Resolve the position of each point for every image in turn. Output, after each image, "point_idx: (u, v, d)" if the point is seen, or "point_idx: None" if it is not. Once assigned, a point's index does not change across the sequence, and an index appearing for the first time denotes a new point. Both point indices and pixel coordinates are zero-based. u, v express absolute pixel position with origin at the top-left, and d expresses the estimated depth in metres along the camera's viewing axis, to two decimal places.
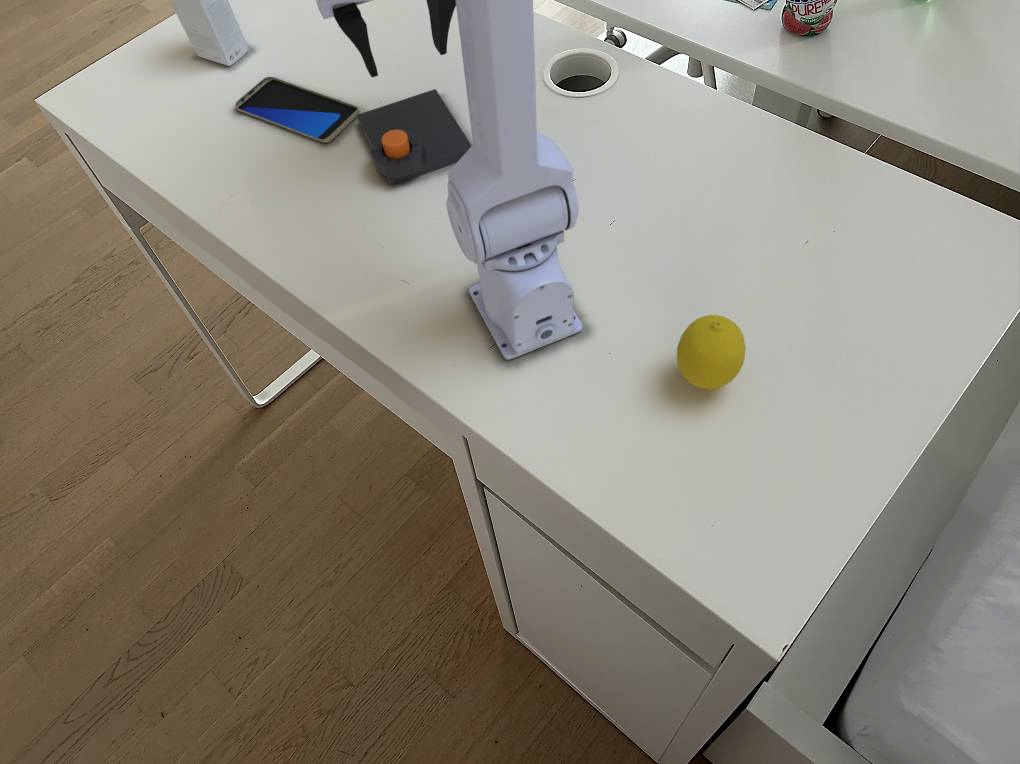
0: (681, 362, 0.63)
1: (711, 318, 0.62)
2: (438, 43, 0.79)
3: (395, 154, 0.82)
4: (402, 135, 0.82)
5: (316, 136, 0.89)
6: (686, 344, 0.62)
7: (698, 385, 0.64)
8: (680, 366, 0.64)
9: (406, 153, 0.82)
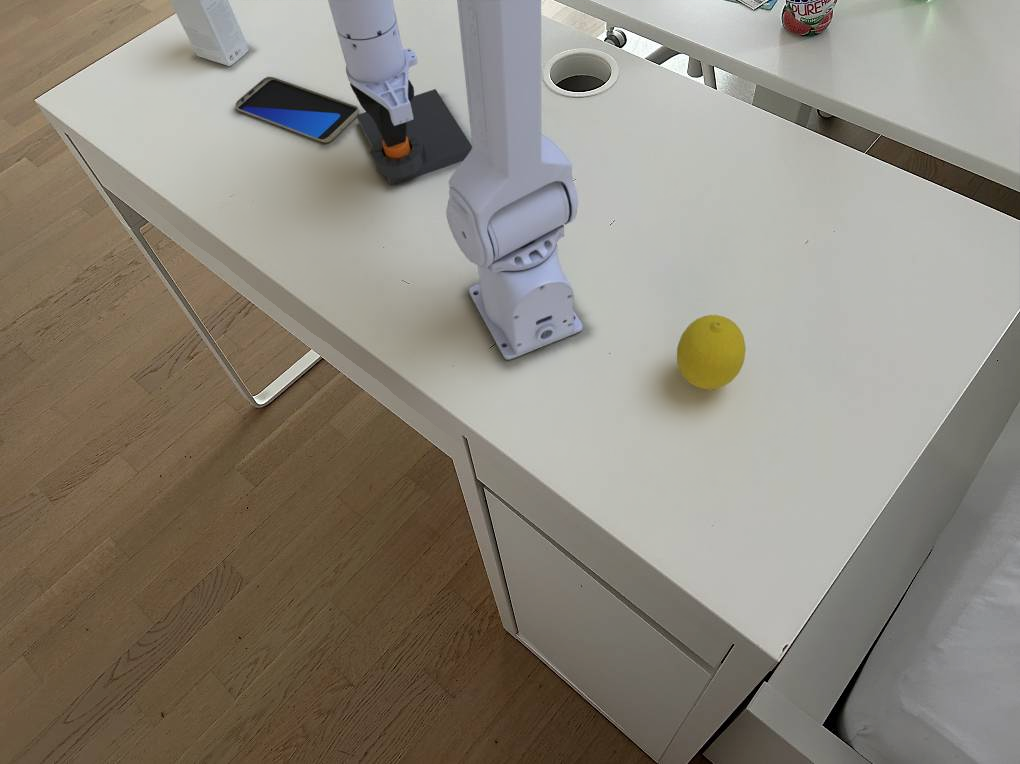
0: (681, 362, 0.63)
1: (711, 318, 0.62)
2: None
3: (396, 157, 0.82)
4: None
5: (316, 136, 0.89)
6: (686, 344, 0.62)
7: (698, 385, 0.64)
8: (680, 366, 0.64)
9: None
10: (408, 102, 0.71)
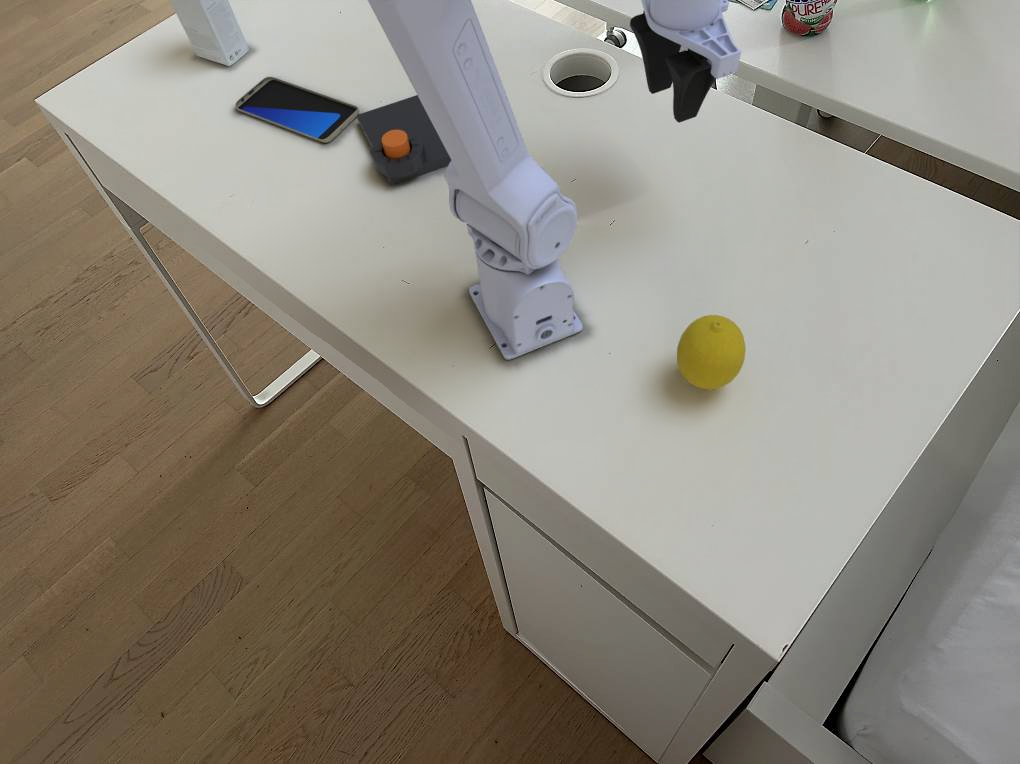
0: (681, 362, 0.63)
1: (711, 318, 0.62)
2: None
3: (395, 154, 0.82)
4: (402, 135, 0.82)
5: (316, 136, 0.89)
6: (686, 344, 0.62)
7: (698, 385, 0.64)
8: (680, 366, 0.64)
9: (406, 153, 0.82)
10: (739, 51, 0.61)
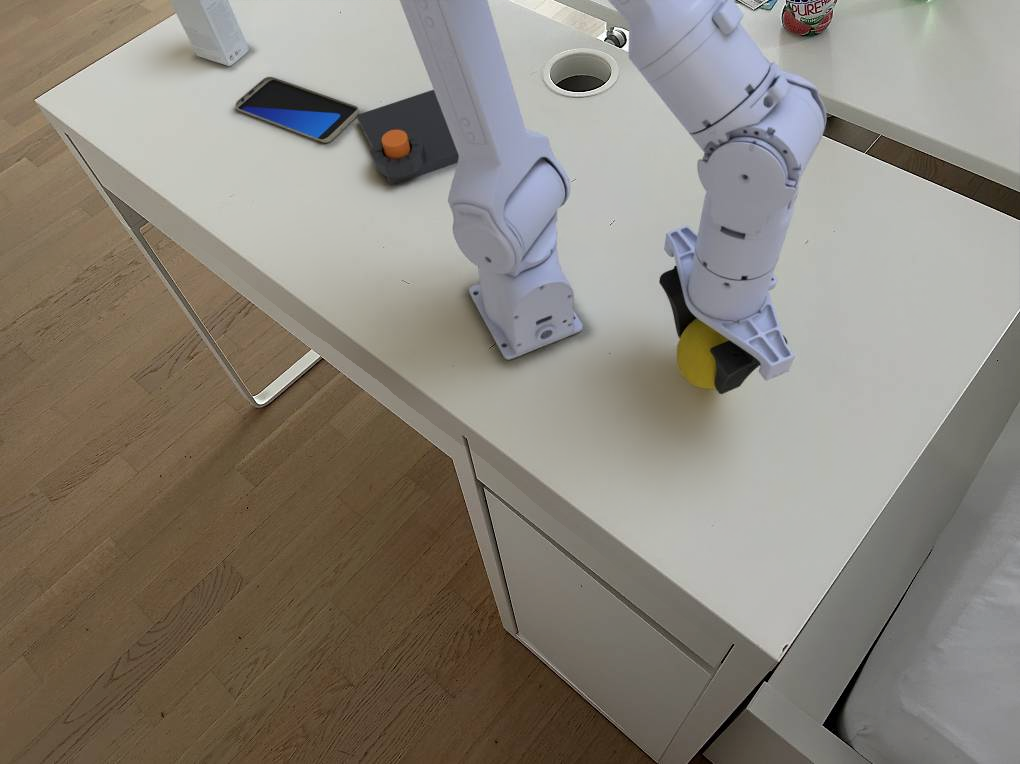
0: (681, 361, 0.63)
1: None
2: None
3: (395, 154, 0.82)
4: (402, 135, 0.82)
5: (316, 136, 0.89)
6: (686, 343, 0.62)
7: (698, 384, 0.64)
8: (680, 365, 0.64)
9: (406, 153, 0.82)
10: (792, 355, 0.53)
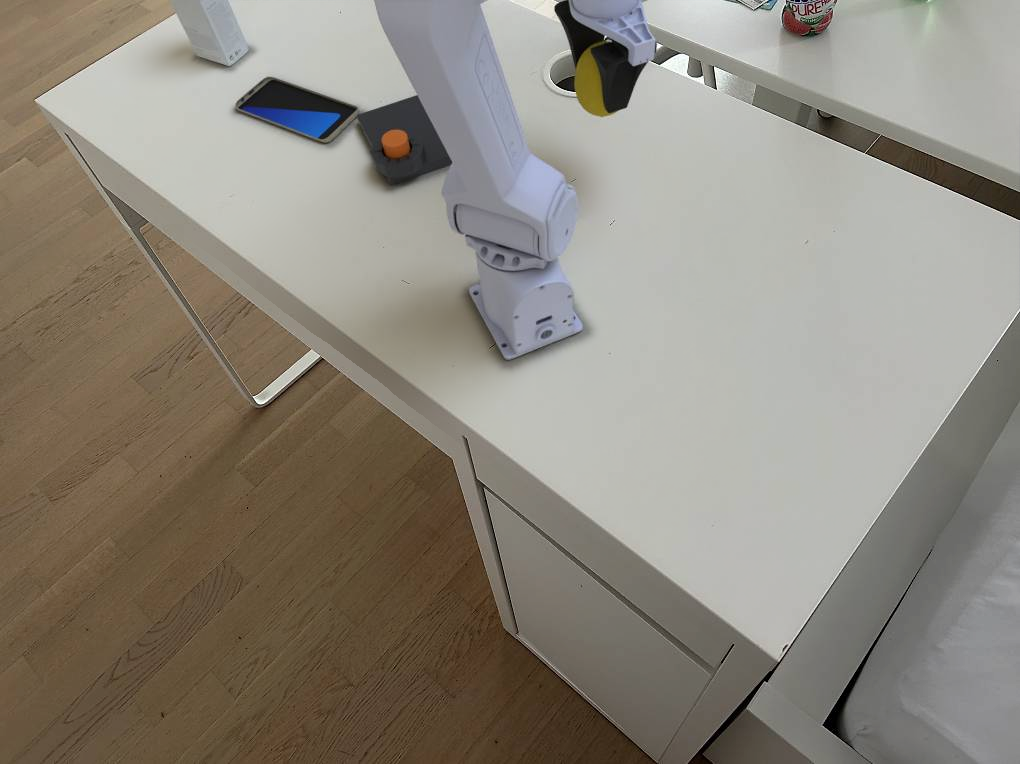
0: (577, 86, 0.72)
1: (600, 42, 0.71)
2: None
3: (395, 154, 0.82)
4: (402, 135, 0.82)
5: (316, 136, 0.89)
6: (579, 65, 0.71)
7: (592, 108, 0.73)
8: (576, 92, 0.73)
9: (406, 153, 0.82)
10: (653, 38, 0.63)
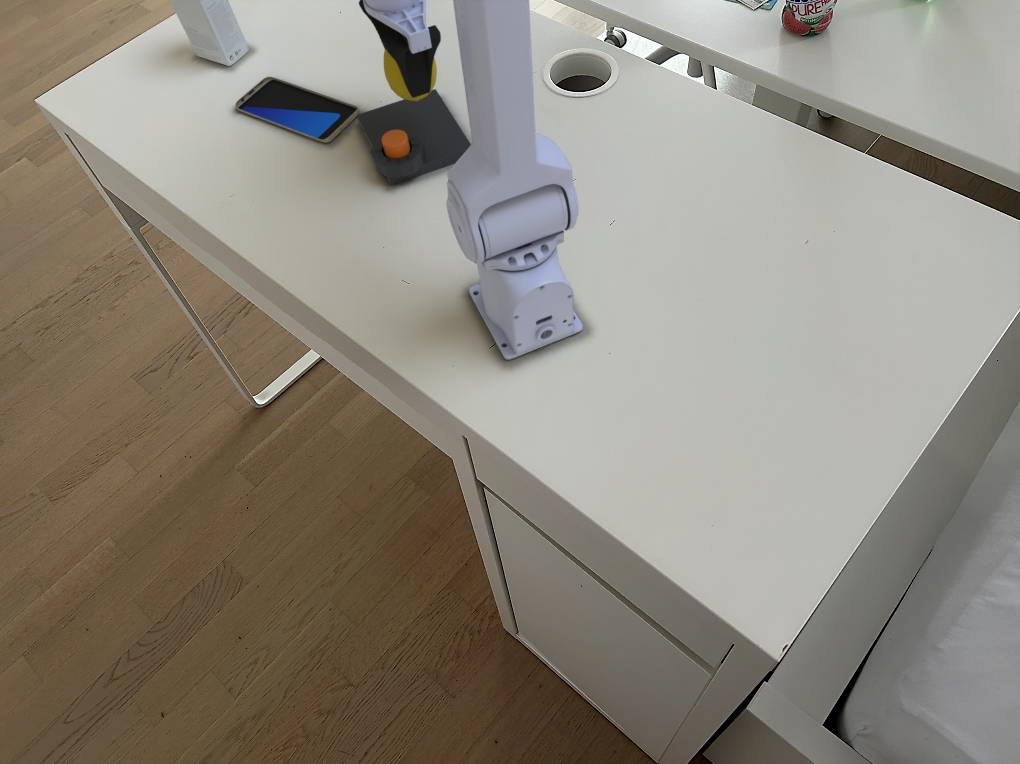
0: (385, 73, 0.80)
1: None
2: None
3: (395, 154, 0.82)
4: (402, 135, 0.82)
5: (316, 136, 0.89)
6: (384, 54, 0.79)
7: (400, 93, 0.81)
8: (386, 78, 0.81)
9: (406, 153, 0.82)
10: (427, 29, 0.70)
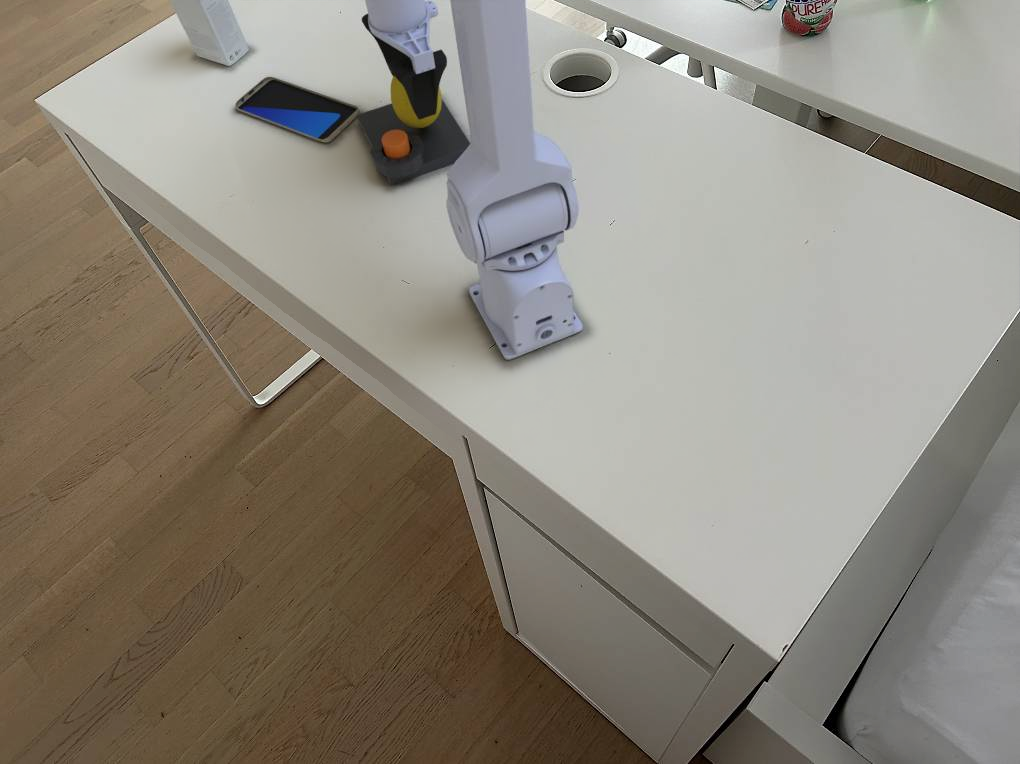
0: (392, 101, 0.83)
1: None
2: None
3: (395, 154, 0.82)
4: (402, 135, 0.82)
5: (316, 136, 0.89)
6: (391, 84, 0.82)
7: (406, 121, 0.84)
8: (393, 107, 0.84)
9: (406, 153, 0.82)
10: (430, 50, 0.72)
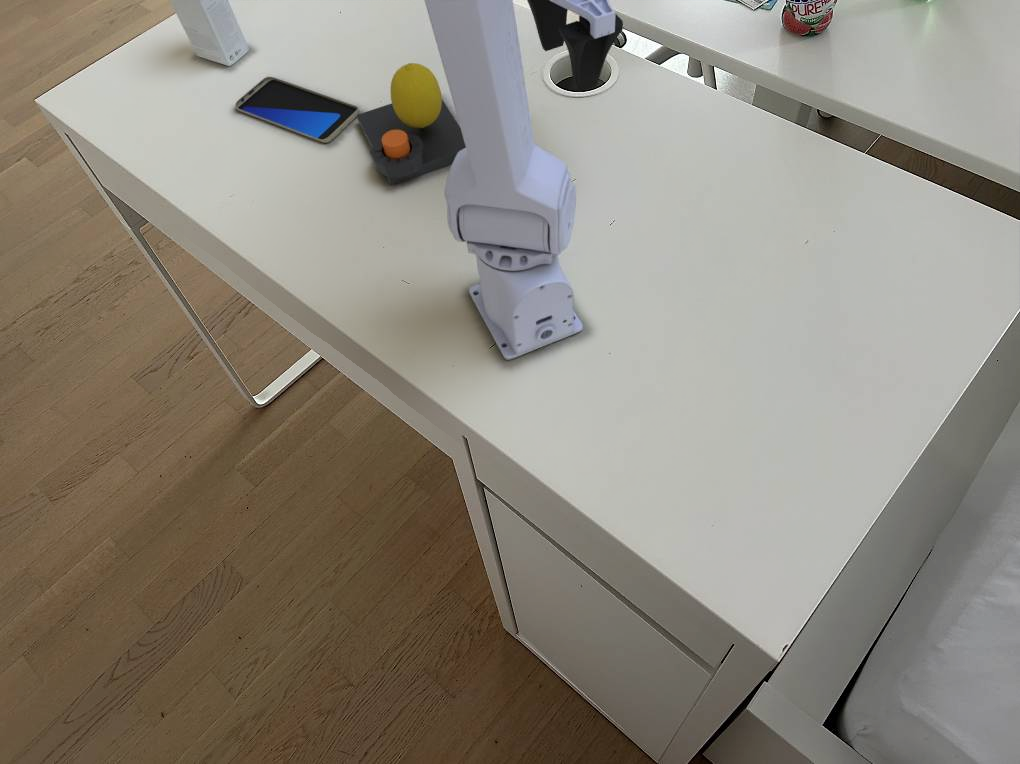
0: (392, 101, 0.83)
1: None
2: None
3: (395, 154, 0.82)
4: (402, 135, 0.82)
5: (316, 136, 0.89)
6: (391, 84, 0.82)
7: (406, 121, 0.84)
8: (393, 107, 0.84)
9: (406, 153, 0.82)
10: (613, 11, 0.65)
